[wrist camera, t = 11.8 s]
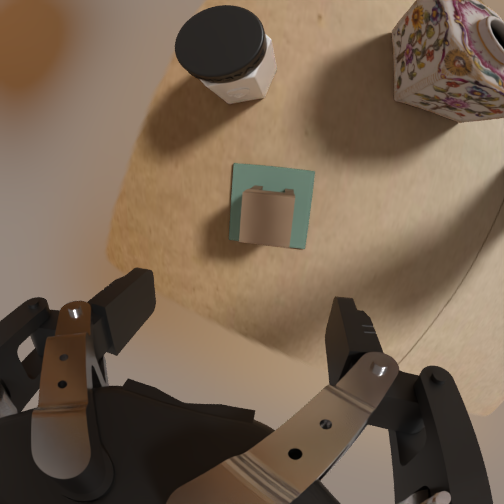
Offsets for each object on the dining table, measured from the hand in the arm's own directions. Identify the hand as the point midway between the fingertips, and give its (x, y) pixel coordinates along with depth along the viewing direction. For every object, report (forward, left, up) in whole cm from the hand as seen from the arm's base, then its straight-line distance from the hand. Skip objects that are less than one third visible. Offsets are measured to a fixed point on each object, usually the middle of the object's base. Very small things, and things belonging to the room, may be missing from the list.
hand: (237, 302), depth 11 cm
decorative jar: (-19, -22, -24) cm, 38 cm away
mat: (+1, 0, -24) cm, 24 cm away
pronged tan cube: (0, 0, -24) cm, 24 cm away
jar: (+6, -17, -24) cm, 30 cm away
